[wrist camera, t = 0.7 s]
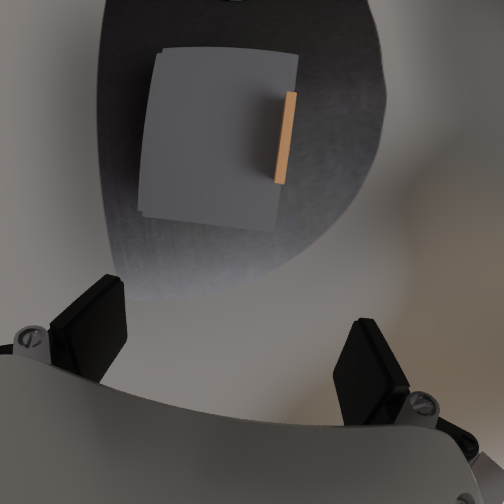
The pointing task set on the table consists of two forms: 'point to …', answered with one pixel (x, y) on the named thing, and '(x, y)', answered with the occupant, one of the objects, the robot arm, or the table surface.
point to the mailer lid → (217, 136)
